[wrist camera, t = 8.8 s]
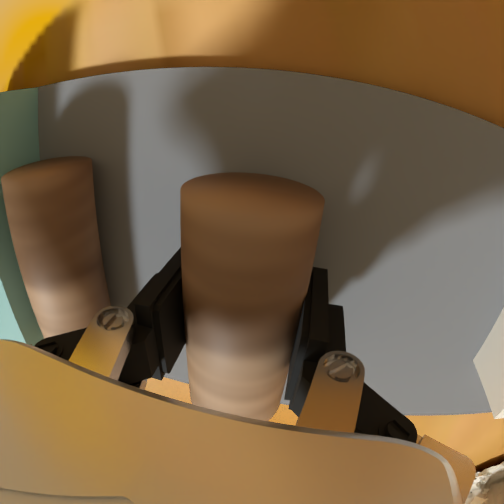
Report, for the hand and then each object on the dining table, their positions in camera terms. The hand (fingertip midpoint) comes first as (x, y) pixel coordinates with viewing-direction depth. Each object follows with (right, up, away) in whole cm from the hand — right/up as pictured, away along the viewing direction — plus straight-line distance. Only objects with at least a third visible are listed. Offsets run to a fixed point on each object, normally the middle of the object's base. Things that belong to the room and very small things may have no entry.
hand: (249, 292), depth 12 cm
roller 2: (0, 0, +1) cm, 1 cm away
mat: (+7, 0, 0) cm, 7 cm away
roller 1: (-8, +2, +2) cm, 9 cm away
